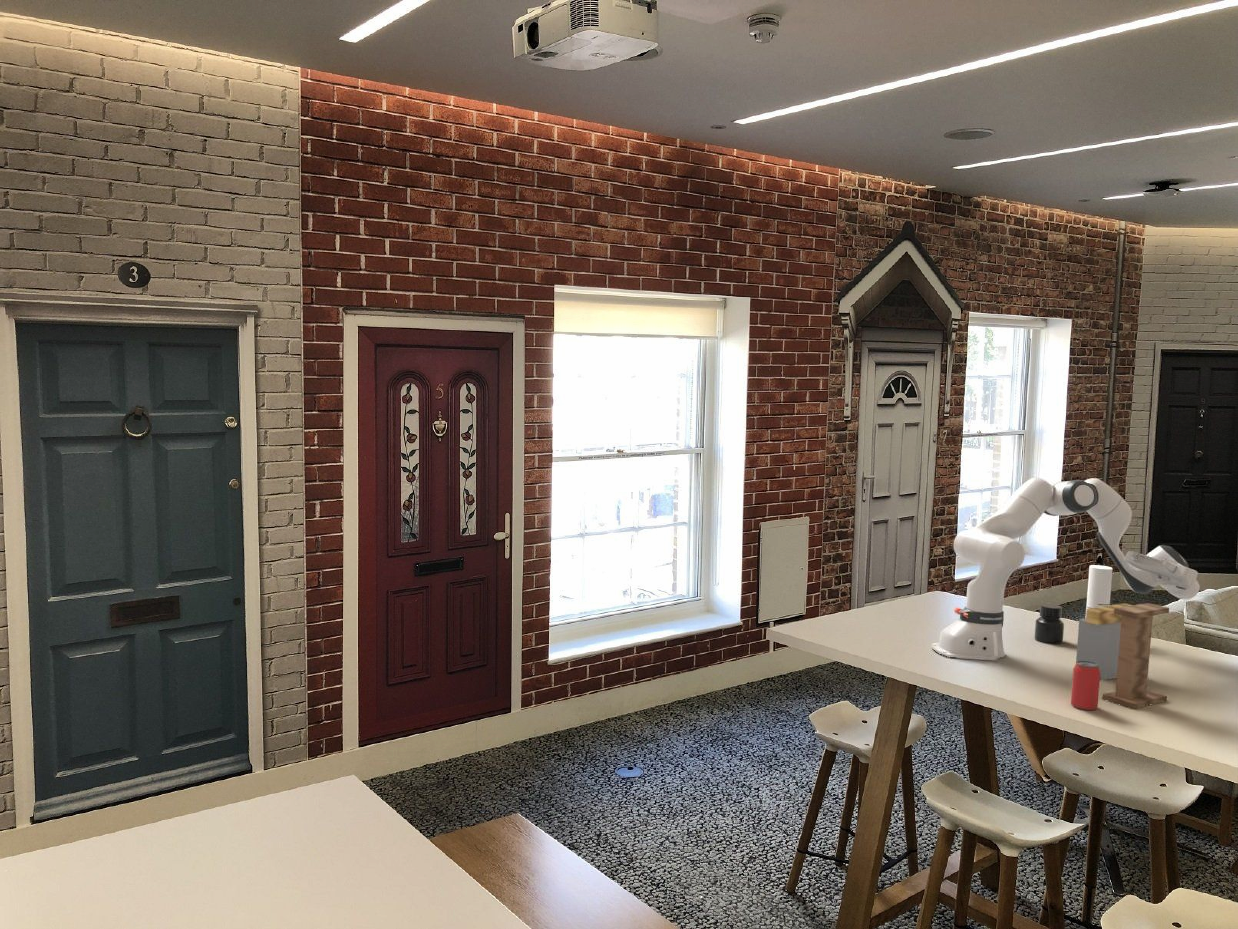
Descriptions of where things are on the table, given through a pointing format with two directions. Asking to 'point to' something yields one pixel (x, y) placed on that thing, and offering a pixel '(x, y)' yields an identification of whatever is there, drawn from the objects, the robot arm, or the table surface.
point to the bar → (1104, 614)
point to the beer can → (1085, 685)
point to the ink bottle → (1049, 624)
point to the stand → (1135, 657)
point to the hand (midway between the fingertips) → (1148, 558)
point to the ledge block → (1099, 646)
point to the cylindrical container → (1099, 586)
